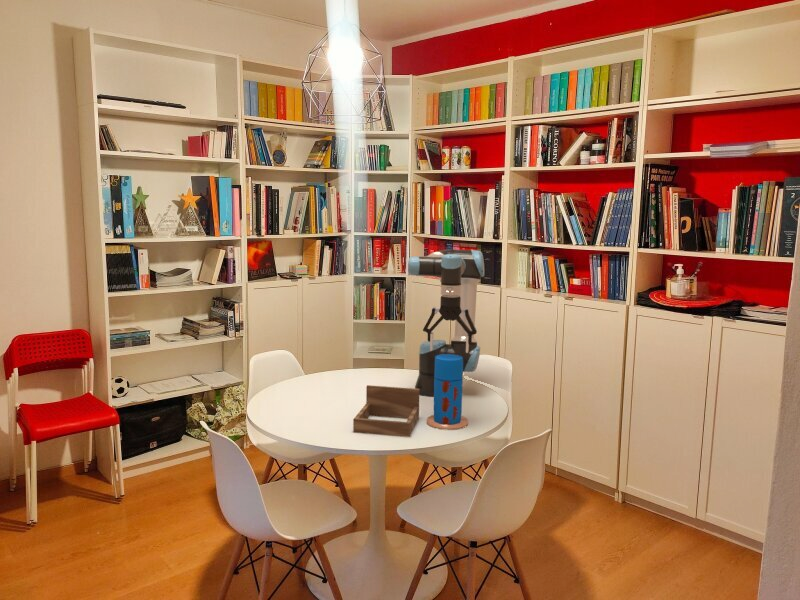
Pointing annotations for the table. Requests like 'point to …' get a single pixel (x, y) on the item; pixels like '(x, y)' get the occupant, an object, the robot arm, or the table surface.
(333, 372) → the table surface
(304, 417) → the table surface
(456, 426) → the terracotta disc
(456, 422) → the thermos
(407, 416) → the frame
